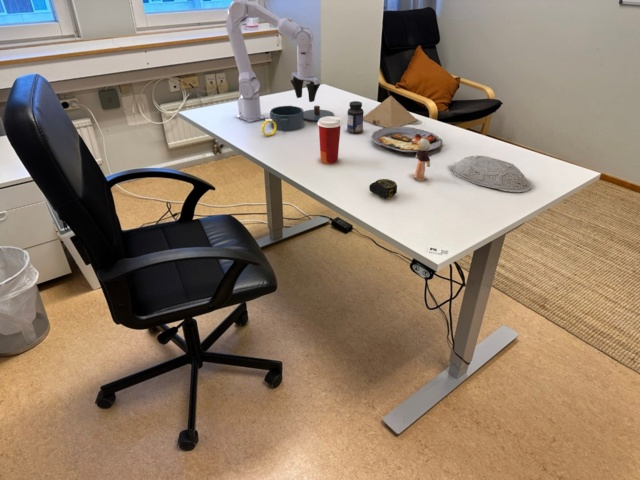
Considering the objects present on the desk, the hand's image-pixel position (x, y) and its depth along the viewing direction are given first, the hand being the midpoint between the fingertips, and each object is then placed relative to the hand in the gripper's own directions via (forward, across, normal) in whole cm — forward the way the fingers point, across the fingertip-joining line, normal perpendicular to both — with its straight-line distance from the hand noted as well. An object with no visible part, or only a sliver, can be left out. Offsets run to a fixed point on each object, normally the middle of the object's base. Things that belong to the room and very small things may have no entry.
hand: (305, 99), depth 179 cm
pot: (+9, +1, +9) cm, 13 cm away
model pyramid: (+9, -22, -26) cm, 35 cm away
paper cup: (+9, -36, +21) cm, 43 cm away
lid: (+8, +1, -7) cm, 11 cm away
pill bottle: (+9, -22, -6) cm, 25 cm away
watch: (+9, -3, +21) cm, 23 cm away
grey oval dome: (+9, -79, -6) cm, 80 cm away
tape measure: (+9, -65, +28) cm, 71 cm away
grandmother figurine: (+9, -65, +11) cm, 66 cm away
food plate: (+9, -44, -10) cm, 46 cm away
